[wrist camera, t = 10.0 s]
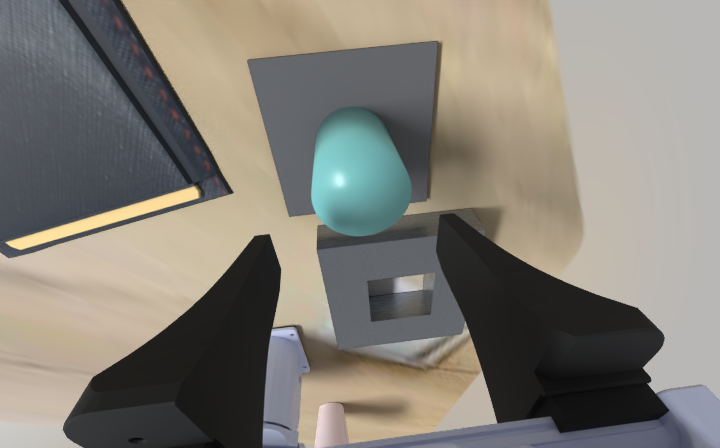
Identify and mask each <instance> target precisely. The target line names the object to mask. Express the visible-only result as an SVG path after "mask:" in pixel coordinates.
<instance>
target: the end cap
mask: <svg viewBox="0 0 720 448" xmlns="http://www.w3.org/2000/svg"><path fill="white" fill-rule="evenodd" d="M411 193H412V187H411V181H410V178H409V175H408V173H407V171H406V169H405V167H404V164H403V162H402V160H401V158H400V156H399V154H398V152H397V150H396V148H395V146H394V144H393V142H392V140H391V137H390V135H389V133H388V131H387V129H386V127H385V125H384V123H383V122H382V121H381V119H380V118H379V117H378V116H377V115H376V114H374V113H373V112H371V111H369V110H367V109H365V108H361V107H345V108H341V109H338V110H336V111H334V112H333V113H331V114H330V115H328V116H327V117H326V118H325V119H324V121H323V122H322V123H321V125H320V127H319V129H318V132H317V135H316V143H315V154H314V166H313V178H312V189H311V199H312V205H313V208H314V210H315V212H316V214H317V216H318V217H319V219H320V220H321V221H322V222H323V223H324V224H325V225H326V226H328V227H329V228H331V229H332V230H334V231H336V232H339V233H341V234H345V235H350V236H368V235H373V234H376V233H379V232H382V231H384V230H386V229H388V228H389V227H391V226H392V225H394V224H395V223H396V222H397V221H398V220H399V219H400V218H401V217H402V216H403V214H404V213H405V211H406V209H407V208H408V205H409V203H410V199H411Z"/></svg>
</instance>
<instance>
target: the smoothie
mask: <svg viewBox="0 0 720 448" xmlns="http://www.w3.org/2000/svg"><path fill="white" fill-rule="evenodd" d="M344 444H349V439H348V433H347V426H346V420H345V413H344V407H343V405H342V404H340V403H335V402H332V403H326V404H323V405H322V406H320V408H319V416H318V424H317V432H316V440H315V448H322V447H329V446H337V445H344Z"/></svg>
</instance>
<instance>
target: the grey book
mask: <svg viewBox="0 0 720 448" xmlns="http://www.w3.org/2000/svg"><path fill="white" fill-rule="evenodd" d="M232 193H233V192H232V190H231V189H230V187H229V186H228V184H227V182H226V181H225V179H224V178H223V176H222V174H221V172H220V170H219V168H218V166H217V165H216V163H215V161H214V159H213V157H212V155H211V153H210V151H209V149H208V148H207V146H206V144H205V143H204V141H203V139H202V138H201V136H200V134H199V132H198V131H197V129H196V127H195V126H194V124H193V122H192V121H191V119H190V117H189V116H188V114H187V112H186V111H185V109H184V107H183V106H182V104H181V102H180V101H179V99H178V97H177V96H176V94H175V92H174V91H173V89H172V87H171V86H170V84H169V82H168V81H167V79H166V77H165V76H164V74H163V72H162V71H161V69H160V67H159V66H158V64H157V62H156V61H155V59H154V57H153V55H152V54H151V52H150V50H149V49H148V47H147V45H146V44H145V42H144V40H143V39H142V37H141V35H140V34H139V32H138V30H137V29H136V27H135V25H134V24H133V22H132V20H131V19H130V17H129V15H128V14H127V12H126V10H125V9H124V7H123V5H122V4H121V2H120V1H119V0H0V252H1V253H2V254H3V255H5V256H6V257H8V258H12V257H17V256H21V255H25V254H29V253H33V252H36V251H39V250H42V249H45V248H48V247H51V246H54V245H57V244H60V243H64V242H67V241H70V240H74V239H77V238H81V237H84V236H88V235H91V234H94V233H98V232H101V231H105V230H108V229H112V228H115V227H119V226H122V225H125V224H129V223H132V222H136V221H139V220H143V219H146V218H149V217H153V216H156V215H160V214H163V213H167V212H170V211H173V210H177V209H180V208H184V207H187V206H191V205H194V204H198V203H201V202H204V201H208V200H211V199H215V198H218V197H222V196H225V195H229V194H232Z"/></svg>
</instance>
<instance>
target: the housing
mask: <svg viewBox="0 0 720 448" xmlns="http://www.w3.org/2000/svg"><path fill="white" fill-rule="evenodd" d="M450 213H454V214H456V215H457V216H459V217H460V218H461V219H462V220H464V221H465V222H466V223H468V224H469V225H470V226H472V227H473V228H474V229H475V230H477V231H478V232H479V233H481V234H482V235H483V236H485V232H486V229H485V228H484V226H483V225H482V224H481V222H480V221H479V219H478V218H477V216H476V215H475V214H474V212H473V211H472V209H471V208H468V209H459V210H450V211H442V212H433V213H424V214H416V215H407V216H402V217H401V218H400V219H399V220H398V221H397V222H396V223H395V224H394V225H392V226H391V227H389V228H388V229H386V230H384V231H382V232H379V233H376V234H373V235H368V236H350V235H345V234H341V233H339V232H336V231H334V230H332V229H331V228H329V227H328V226H326V225H321V226H318V228H317V254H318V258H319V263H320V267H321V272H322V276H323V281H324V285H325V290H326V294H327V299H328V304H329V308H330V313H331V317H332V322H333V326H334V331H335V335H336V340H337V344H338V349H339V350H341V349H349V348H357V347H364V346H372V345H380V344H388V343H396V342H404V341H412V340H420V339H427V338H435V337H443V336H451V335H459V334H462V332H463V327H464V323H465V319H464V316H463V314H462V312H461V310H460V308H459V306H458V304H457V301H456V299H455V297H454V295H453V293H452V291H451V289H450V287H449V285H448V282H447V280H446V278H445V276H444V274H443V272H442V269H441V266H440V263H439V260H438V256H437V253H436V244H437V235H438V225H439V216H440V215H441V214H450ZM421 274H424V280H423V290H422V291H413V292H405V293H397V294H389V295H381V296H373V297H369V294H368V283H367V281H371V280H379V279H388V278H396V277H404V276H412V275H421Z"/></svg>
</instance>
